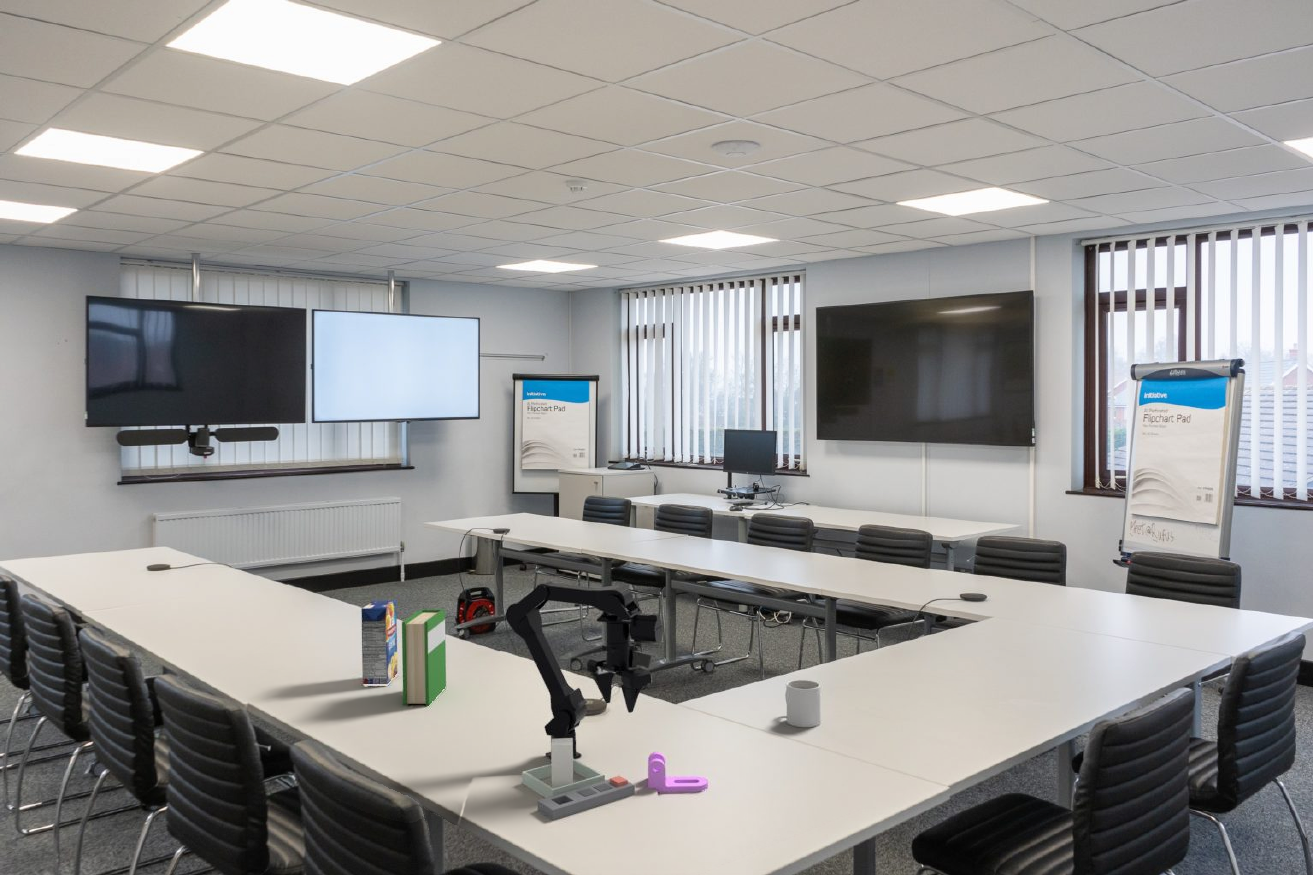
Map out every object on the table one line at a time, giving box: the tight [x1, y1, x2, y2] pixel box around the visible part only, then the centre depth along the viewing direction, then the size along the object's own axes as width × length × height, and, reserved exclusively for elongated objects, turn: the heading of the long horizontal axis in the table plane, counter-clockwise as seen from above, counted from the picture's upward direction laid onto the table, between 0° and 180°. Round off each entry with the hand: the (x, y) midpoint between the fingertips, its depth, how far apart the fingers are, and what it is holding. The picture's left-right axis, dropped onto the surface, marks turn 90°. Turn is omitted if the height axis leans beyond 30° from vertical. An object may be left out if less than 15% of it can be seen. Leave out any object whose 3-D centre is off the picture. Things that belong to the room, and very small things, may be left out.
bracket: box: [647, 751, 709, 793], centre depth 200 cm, size 13×6×7 cm, turn 90°
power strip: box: [537, 775, 636, 821], centre depth 190 cm, size 20×6×4 cm, turn 127°
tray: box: [521, 758, 606, 798], centre depth 200 cm, size 13×13×4 cm
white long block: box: [550, 738, 574, 788], centre depth 196 cm, size 4×4×11 cm
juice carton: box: [360, 600, 398, 685], centre depth 286 cm, size 12×8×24 cm, turn 1°
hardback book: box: [401, 608, 447, 707], centre depth 269 cm, size 18×7×24 cm, turn 177°
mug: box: [784, 679, 822, 728], centre depth 243 cm, size 11×10×10 cm
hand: (619, 707), depth 215 cm, fingers open, 9 cm apart
